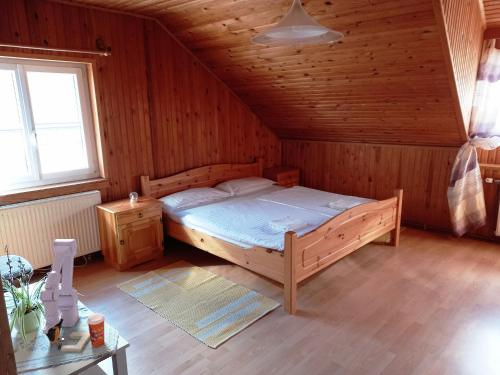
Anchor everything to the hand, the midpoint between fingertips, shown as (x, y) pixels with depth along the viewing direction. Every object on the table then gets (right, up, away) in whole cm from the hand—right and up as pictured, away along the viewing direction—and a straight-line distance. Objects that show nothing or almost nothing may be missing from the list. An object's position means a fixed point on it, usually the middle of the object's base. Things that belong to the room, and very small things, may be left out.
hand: (54, 337), depth 173 cm
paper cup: (+21, -3, -1) cm, 21 cm away
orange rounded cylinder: (0, -2, 0) cm, 2 cm away
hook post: (+5, -3, -5) cm, 8 cm away
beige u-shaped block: (+11, -2, -1) cm, 11 cm away
